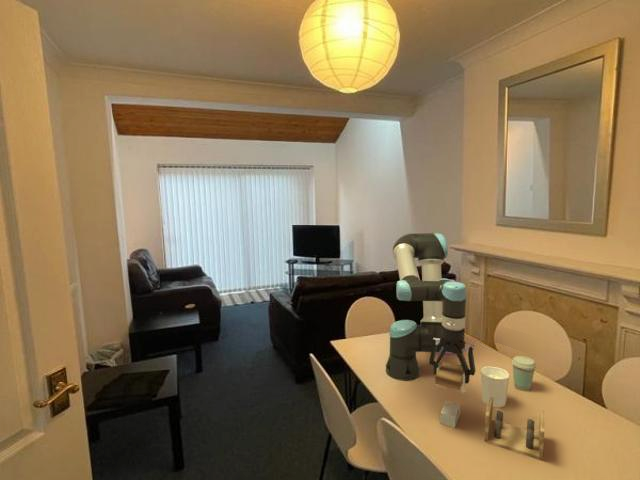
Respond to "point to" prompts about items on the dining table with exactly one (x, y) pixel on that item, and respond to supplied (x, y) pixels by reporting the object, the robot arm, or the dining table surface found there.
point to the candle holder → (494, 385)
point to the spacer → (450, 414)
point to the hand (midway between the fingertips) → (450, 387)
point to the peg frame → (514, 434)
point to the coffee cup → (523, 372)
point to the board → (450, 375)
